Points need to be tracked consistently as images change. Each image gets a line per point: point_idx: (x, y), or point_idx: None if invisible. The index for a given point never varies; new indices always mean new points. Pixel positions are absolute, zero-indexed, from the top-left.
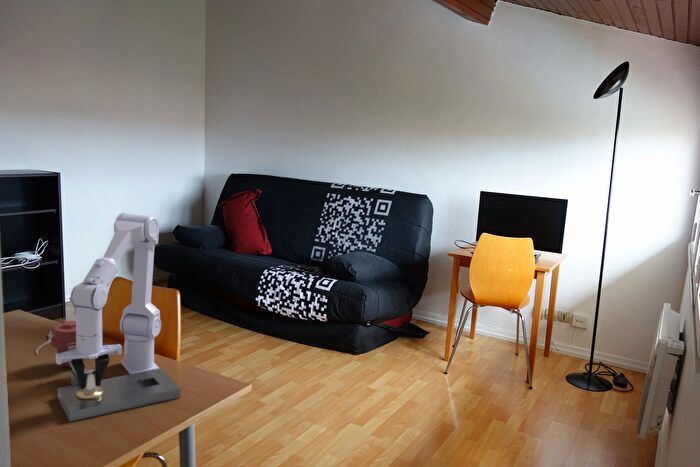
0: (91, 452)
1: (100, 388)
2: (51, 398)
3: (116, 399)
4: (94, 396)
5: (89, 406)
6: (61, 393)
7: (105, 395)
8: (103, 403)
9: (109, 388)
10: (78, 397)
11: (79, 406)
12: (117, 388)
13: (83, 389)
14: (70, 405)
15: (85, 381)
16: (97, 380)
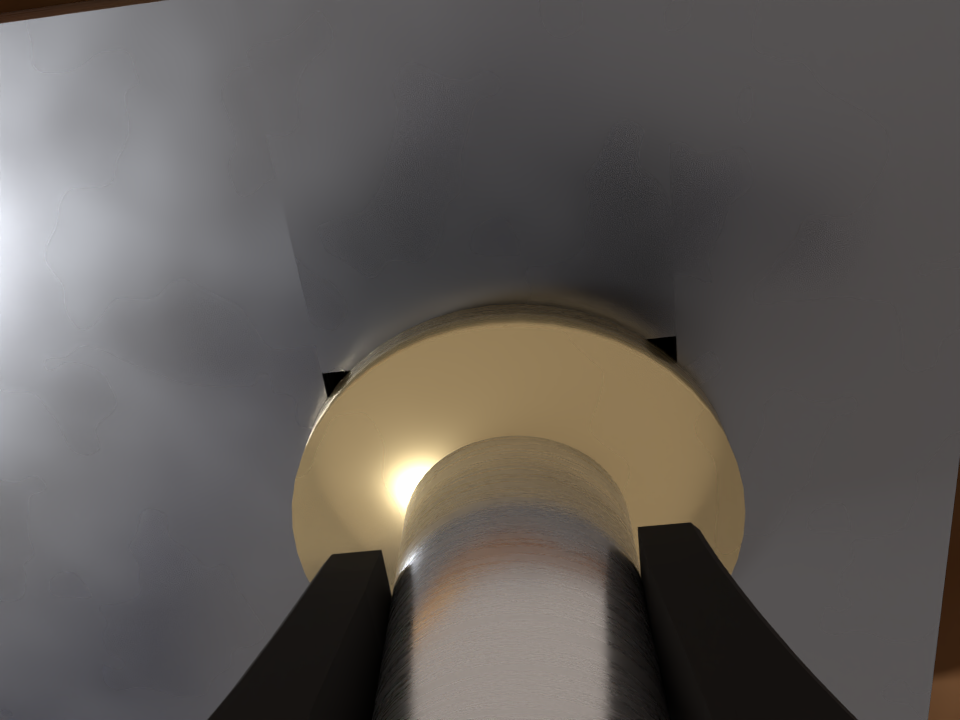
0: None
1: None
2: (934, 696)
3: (62, 134)
4: (462, 329)
5: (596, 2)
6: (918, 653)
7: (269, 370)
8: (314, 37)
9: (204, 586)
10: (723, 429)
11: (781, 71)
12: (77, 549)
13: (637, 562)
14: (922, 183)
15: (632, 653)
16: (361, 648)
